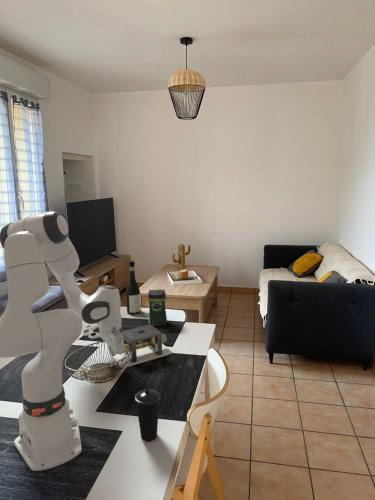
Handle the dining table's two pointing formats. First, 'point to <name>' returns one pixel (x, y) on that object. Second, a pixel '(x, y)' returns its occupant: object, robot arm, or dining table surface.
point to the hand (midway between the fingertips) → (112, 355)
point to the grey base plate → (144, 355)
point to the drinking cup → (148, 412)
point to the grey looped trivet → (91, 331)
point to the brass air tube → (144, 343)
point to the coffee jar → (157, 307)
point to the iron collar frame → (134, 336)
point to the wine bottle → (133, 293)
